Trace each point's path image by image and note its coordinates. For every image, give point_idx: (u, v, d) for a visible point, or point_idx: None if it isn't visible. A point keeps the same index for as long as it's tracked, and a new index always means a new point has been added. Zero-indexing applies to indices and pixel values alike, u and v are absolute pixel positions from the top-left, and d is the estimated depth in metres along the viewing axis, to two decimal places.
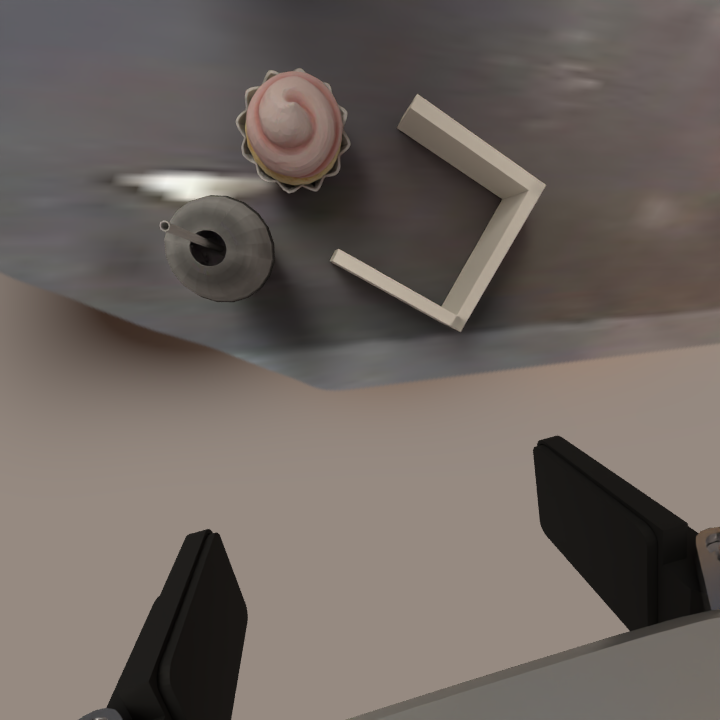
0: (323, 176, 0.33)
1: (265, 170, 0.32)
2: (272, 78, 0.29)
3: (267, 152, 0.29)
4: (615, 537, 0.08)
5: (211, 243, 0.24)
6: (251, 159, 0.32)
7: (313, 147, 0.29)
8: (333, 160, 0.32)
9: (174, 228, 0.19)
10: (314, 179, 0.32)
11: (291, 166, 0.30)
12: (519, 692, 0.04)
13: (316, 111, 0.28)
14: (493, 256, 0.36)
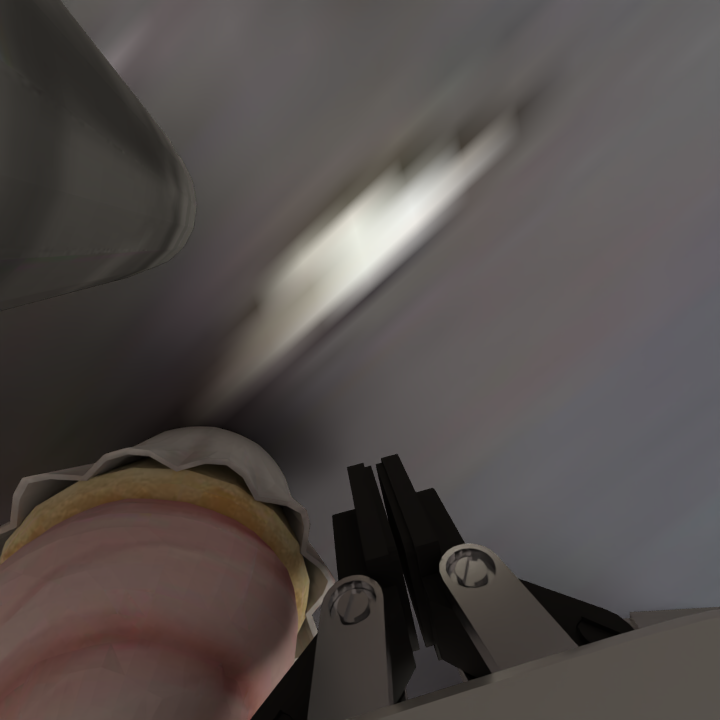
0: None
1: (137, 476, 0.09)
2: None
3: (95, 589, 0.07)
4: (402, 551, 0.09)
5: None
6: None
7: None
8: None
9: None
10: None
11: None
12: (519, 692, 0.04)
13: None
14: None
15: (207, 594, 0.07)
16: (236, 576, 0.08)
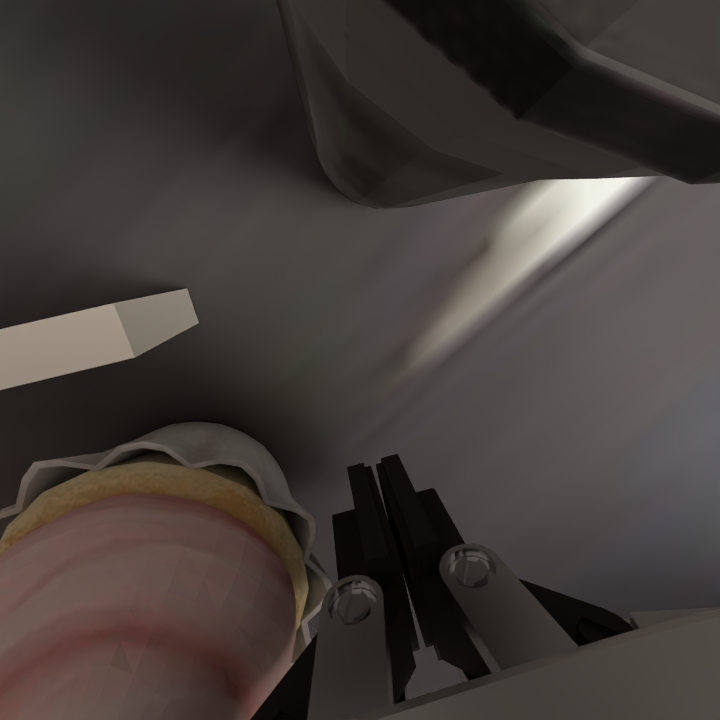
0: None
1: (150, 471, 0.09)
2: None
3: (107, 584, 0.07)
4: (402, 550, 0.09)
5: None
6: None
7: None
8: None
9: None
10: None
11: None
12: (519, 692, 0.04)
13: None
14: None
15: (217, 597, 0.07)
16: (246, 581, 0.08)
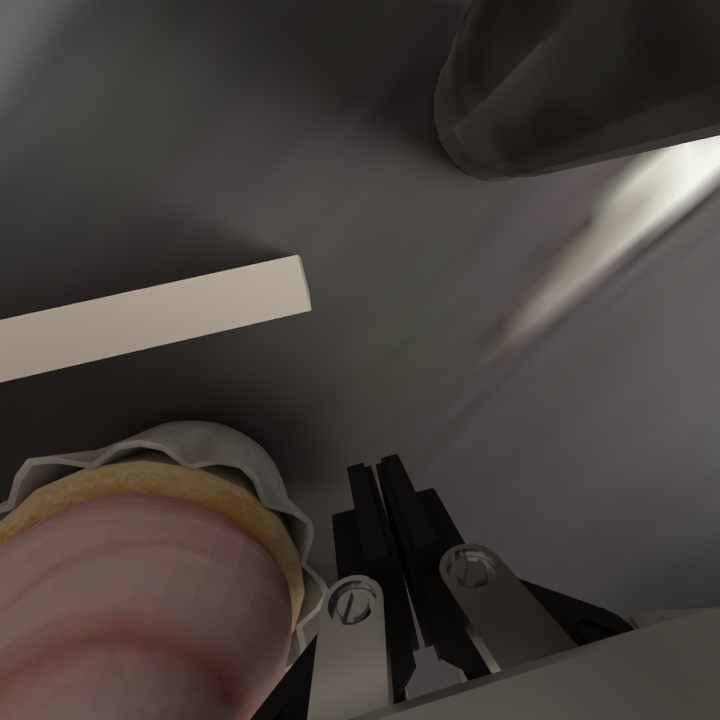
0: None
1: (147, 470, 0.09)
2: None
3: (101, 586, 0.07)
4: (402, 550, 0.09)
5: None
6: None
7: None
8: None
9: None
10: None
11: None
12: (519, 692, 0.04)
13: None
14: None
15: (214, 601, 0.07)
16: (242, 585, 0.08)
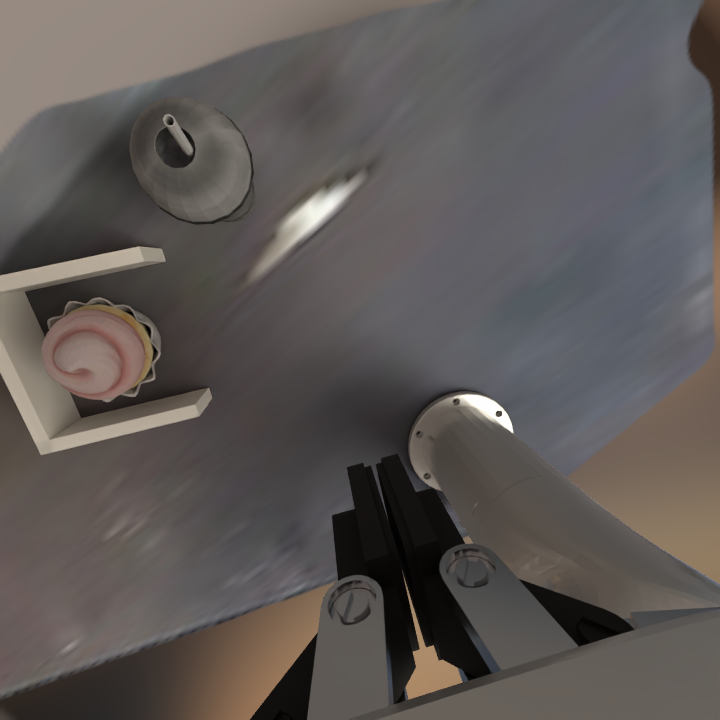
0: None
1: (101, 306, 0.32)
2: (131, 375, 0.32)
3: (87, 321, 0.30)
4: (402, 550, 0.09)
5: (188, 158, 0.22)
6: (121, 307, 0.32)
7: (48, 351, 0.29)
8: None
9: (167, 127, 0.17)
10: None
11: (60, 324, 0.30)
12: (519, 692, 0.04)
13: (64, 378, 0.30)
14: (13, 371, 0.32)
15: (115, 329, 0.30)
16: (123, 329, 0.31)
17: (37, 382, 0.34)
